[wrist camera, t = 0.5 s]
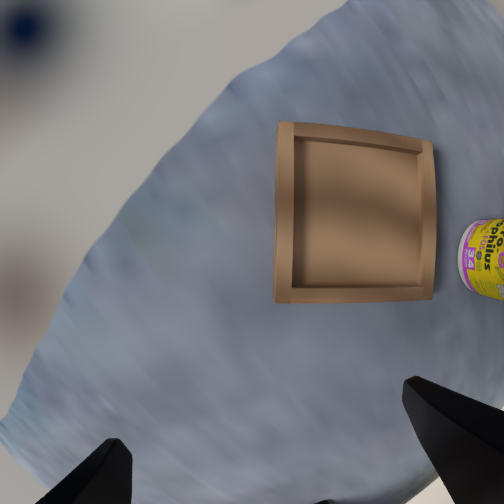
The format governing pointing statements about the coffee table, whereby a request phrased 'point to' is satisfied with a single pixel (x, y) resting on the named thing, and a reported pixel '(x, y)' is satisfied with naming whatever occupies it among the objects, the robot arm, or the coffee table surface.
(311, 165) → the walnut tray
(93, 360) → the coffee table surface
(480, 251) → the supplement bottle
